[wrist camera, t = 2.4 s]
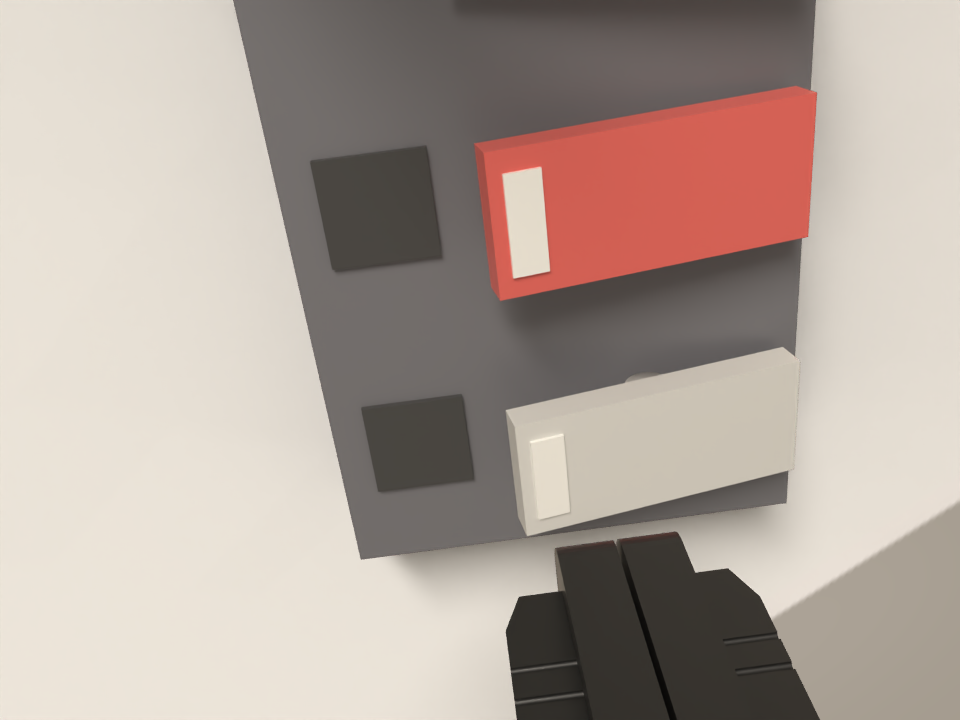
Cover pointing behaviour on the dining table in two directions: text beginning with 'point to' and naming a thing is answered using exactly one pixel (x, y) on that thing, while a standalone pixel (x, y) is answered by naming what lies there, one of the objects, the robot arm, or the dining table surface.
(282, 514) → the dining table surface
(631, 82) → the power strip
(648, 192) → the block
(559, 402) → the grey rocker far end
